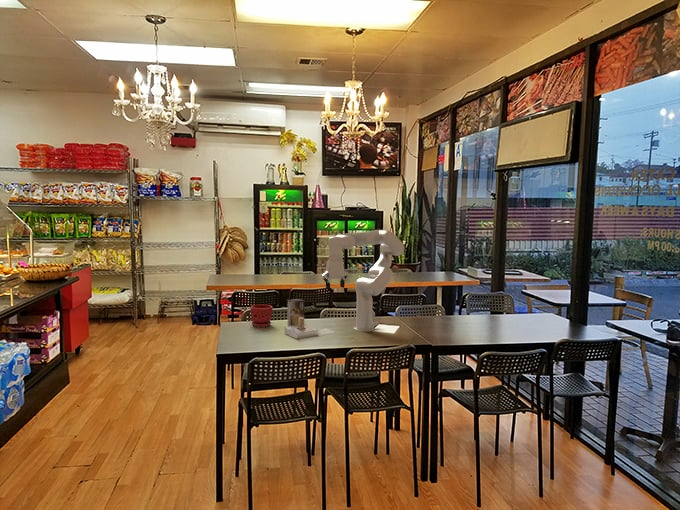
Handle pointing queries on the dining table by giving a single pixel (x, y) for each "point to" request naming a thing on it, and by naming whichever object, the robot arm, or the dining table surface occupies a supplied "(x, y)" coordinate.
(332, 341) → the dining table surface
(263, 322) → the plant pot
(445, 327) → the dining table surface
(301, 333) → the socket block
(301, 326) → the peg
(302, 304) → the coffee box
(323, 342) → the dining table surface
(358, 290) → the robot arm
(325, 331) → the mat
